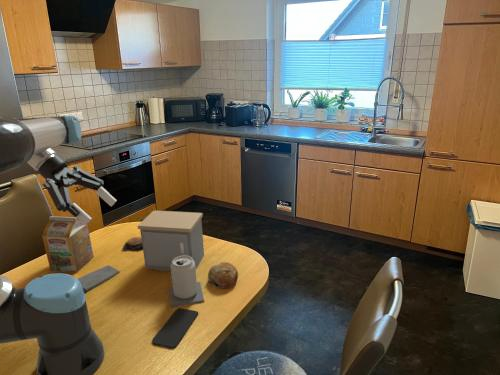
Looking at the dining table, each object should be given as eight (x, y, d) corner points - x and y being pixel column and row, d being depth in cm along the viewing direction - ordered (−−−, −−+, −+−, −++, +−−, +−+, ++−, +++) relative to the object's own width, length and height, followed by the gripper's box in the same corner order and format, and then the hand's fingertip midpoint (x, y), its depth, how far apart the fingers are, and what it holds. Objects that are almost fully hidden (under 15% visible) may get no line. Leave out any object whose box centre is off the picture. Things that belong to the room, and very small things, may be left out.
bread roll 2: (120, 253, 146) (119, 244, 144) (126, 242, 153) (124, 234, 152) (148, 251, 146) (147, 243, 145) (152, 241, 154) (151, 233, 153)
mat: (204, 301, 114) (204, 299, 114) (171, 307, 112) (170, 305, 112) (200, 283, 124) (200, 281, 123) (169, 288, 121) (169, 286, 121)
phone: (199, 311, 110) (174, 347, 96) (200, 313, 110) (175, 350, 96) (177, 307, 112) (149, 342, 98) (177, 309, 112) (150, 344, 99)
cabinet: (193, 275, 128) (189, 230, 122) (142, 270, 132) (136, 226, 126) (205, 254, 141) (202, 213, 135) (158, 251, 145) (153, 210, 139)
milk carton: (93, 257, 142) (84, 211, 135) (77, 272, 132) (66, 224, 125) (68, 255, 144) (58, 210, 137) (50, 270, 134) (38, 222, 127)
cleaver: (42, 320, 109) (40, 314, 108) (24, 309, 114) (22, 304, 113) (123, 272, 132) (122, 267, 132) (105, 265, 137) (104, 260, 137)
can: (169, 293, 118) (165, 260, 114) (189, 283, 123) (185, 251, 119) (182, 303, 113) (178, 269, 109) (202, 293, 118) (199, 259, 113)
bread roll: (206, 290, 126) (199, 277, 120) (219, 265, 132) (213, 252, 127) (232, 298, 122) (226, 284, 116) (244, 271, 128) (239, 258, 123)
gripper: (68, 159, 123) (116, 204, 125) (8, 185, 100) (69, 239, 102) (79, 144, 120) (129, 189, 122) (21, 166, 97) (83, 222, 99)
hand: (102, 212), depth 112 cm, fingers open, 13 cm apart
